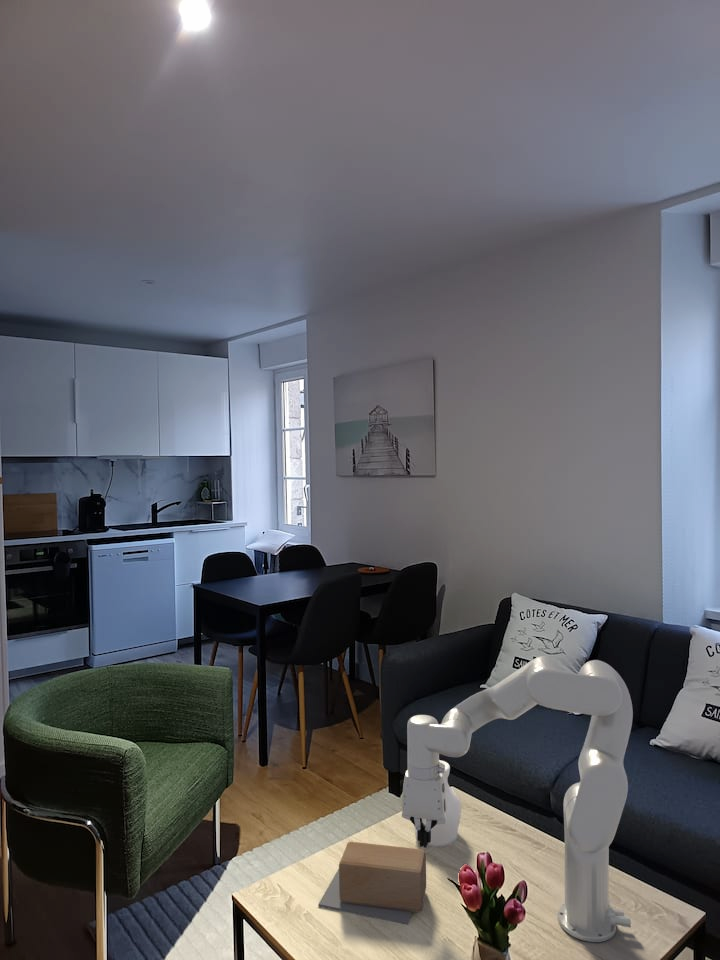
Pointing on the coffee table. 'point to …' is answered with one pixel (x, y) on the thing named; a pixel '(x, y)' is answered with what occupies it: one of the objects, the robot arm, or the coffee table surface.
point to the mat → (360, 906)
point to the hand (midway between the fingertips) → (424, 844)
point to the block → (383, 876)
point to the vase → (449, 830)
